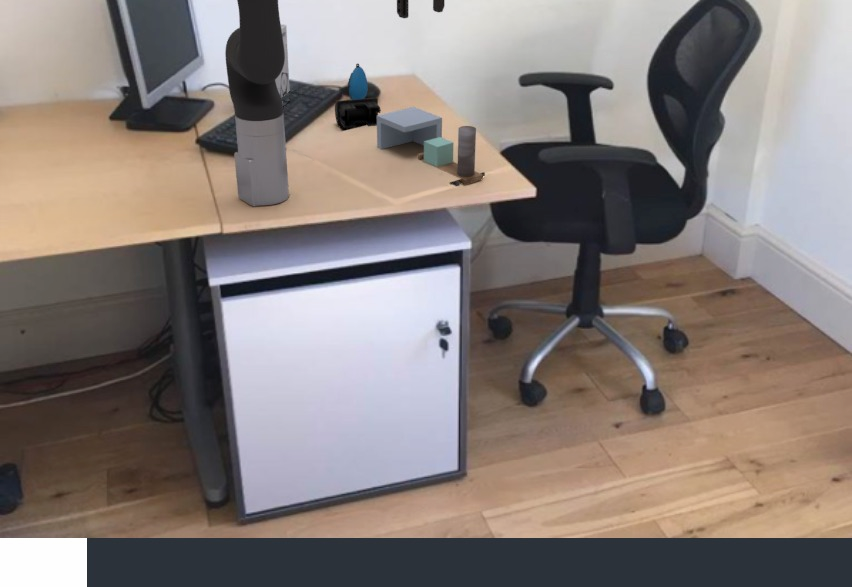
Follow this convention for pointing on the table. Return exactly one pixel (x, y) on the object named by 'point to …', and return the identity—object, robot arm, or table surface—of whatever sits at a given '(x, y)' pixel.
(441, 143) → the block
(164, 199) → the table surface
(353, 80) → the ornament
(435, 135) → the open-front cubby
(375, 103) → the end cap
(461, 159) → the tray with upright handle
